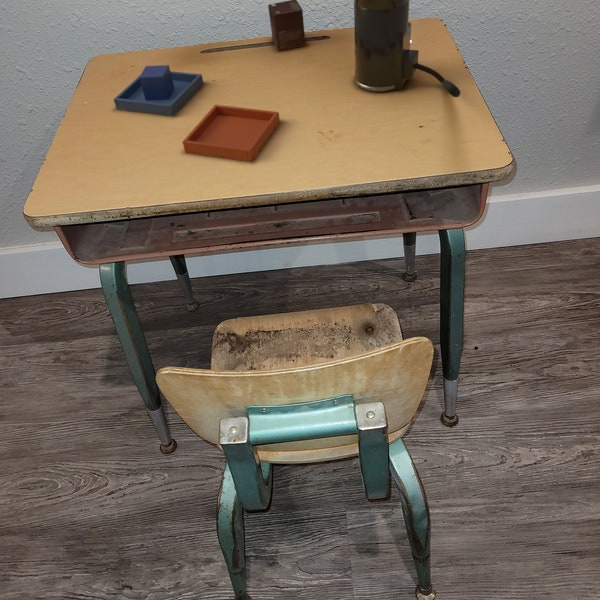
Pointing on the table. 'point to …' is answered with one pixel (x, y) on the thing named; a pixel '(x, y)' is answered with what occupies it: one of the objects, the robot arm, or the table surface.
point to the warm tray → (232, 132)
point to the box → (287, 24)
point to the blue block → (157, 82)
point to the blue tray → (182, 92)
